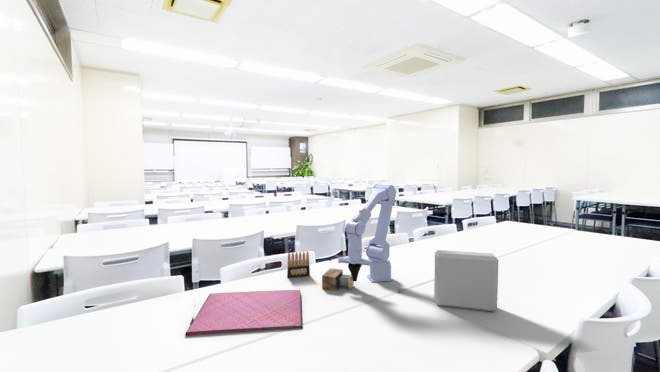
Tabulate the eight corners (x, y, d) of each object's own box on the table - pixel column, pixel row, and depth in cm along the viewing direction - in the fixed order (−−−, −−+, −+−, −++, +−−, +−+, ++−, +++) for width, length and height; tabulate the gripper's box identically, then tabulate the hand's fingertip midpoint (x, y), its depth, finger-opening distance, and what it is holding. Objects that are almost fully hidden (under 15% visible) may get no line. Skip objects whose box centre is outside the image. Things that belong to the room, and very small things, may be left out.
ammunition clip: (287, 278, 143) (287, 253, 142) (287, 276, 144) (286, 251, 144) (309, 276, 145) (309, 251, 144) (309, 274, 147) (309, 250, 146)
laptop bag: (300, 285, 124) (302, 320, 97) (300, 295, 125) (302, 332, 98) (199, 289, 120) (171, 327, 93) (199, 299, 120) (172, 339, 93)
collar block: (343, 282, 137) (343, 269, 136) (336, 290, 127) (336, 277, 127) (330, 280, 139) (330, 268, 139) (322, 288, 130) (322, 275, 129)
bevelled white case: (492, 304, 114) (493, 251, 113) (498, 313, 107) (499, 258, 106) (433, 297, 120) (434, 248, 119) (435, 306, 112) (435, 253, 111)
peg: (353, 284, 133) (353, 273, 132) (350, 289, 128) (350, 277, 128) (337, 282, 135) (337, 271, 135) (333, 286, 130) (333, 275, 130)
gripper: (335, 250, 127) (335, 281, 128) (369, 253, 123) (369, 286, 123) (340, 246, 134) (341, 276, 135) (373, 249, 129) (373, 280, 130)
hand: (354, 280), depth 130 cm, fingers closed
